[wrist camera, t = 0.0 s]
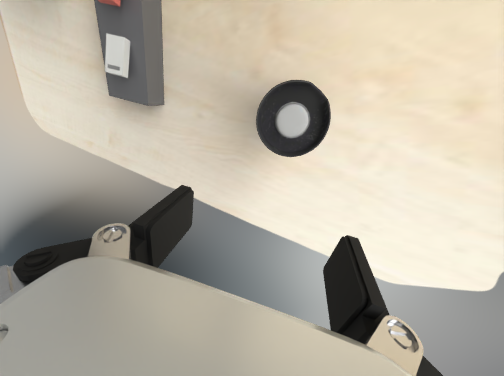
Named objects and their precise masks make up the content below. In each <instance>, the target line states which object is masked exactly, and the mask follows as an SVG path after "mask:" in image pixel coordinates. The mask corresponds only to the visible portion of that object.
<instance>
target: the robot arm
mask: <svg viewBox="0 0 504 376" xmlns="http://www.w3.org/2000/svg"><path fill="white" fill-rule="evenodd" d="M193 197H194V191H193V190H192V189H191V187H188V186H184V185H181V186H180V187H178V188H177V189H176V190H174V191H173V192H172V193H171V194H169V195H168V196H167V197H165V198H164V199H163V200H161V201H160V202H159V203H157V204H156V205H155V206H153V207H152V208H151V209H149V210H148V211H147V212H146V213H144V214H143V215H142V216H140V217H139V218H138V219H136V220H135V221H134V222H132V223H131V224H130V225H129V226H127V225H125V224H120V223H116V224H110V225H107V226H104V227H102V228H100V229H99V230H97V231H96V232H95V234H94V235H93V238H89V239H84V240H80V241H74V242H70V243H64V244H59V245H54V246H49V247H44V248H41V249H37V250H34V251H32V252H30V253H28V254H26V255H24V256H22V257H21V258H20V259H19V260H18V261H17V262H16V263H15V264H14V265H13V266H11V267H8V266H7V265H4V266H2V267H0V376H443V375H442V374H441V373H440V372H439V371H438V370H437V369H436V368H435V367H434V366H432V364H431V363H430V362H429V361H428V360H427V359H426V358H425V357H424V356H423V346H422V343H421V341H420V339H419V337H418V336H417V335H416V333H415V332H414V330H412V328H411V327H410V326H408V325H407V324H406V323H405V322H404V321H402V320H401V319H399V318H397V317H395V316H391V315H389V313H388V310H387V308H386V305H385V303H384V300H383V298H382V295H381V293H380V291H379V288H378V286H377V283H376V281H375V278H374V276H373V273H372V271H371V269H370V266H369V264H368V261H367V259H366V256H365V254H364V251H363V249H362V247H361V244H360V242H359V239H358V238H355V237H352V236H348V235H347V236H345V237H342V238H341V239H340V241H339V243H338V244H337V246H336V248H335V249H334V251H333V253H332V254H331V256H330V258H329V259H328V261H327V263H326V265H325V266H324V270H323V274H324V281H325V289H326V296H327V304H328V311H329V319H330V326H331V330H328V329H326V328H323V327H320V326H317V325H315V324H312V323H309V322H307V321H304V320H302V319H299V318H296V317H293V316H291V315H287V314H285V313H282V312H280V311H277V310H274V309H272V308H269V307H266V306H263V305H261V304H258V303H255V302H252V301H249V300H247V299H244V298H241V297H238V296H235V295H233V294H230V293H227V292H225V291H222V290H219V289H216V288H213V287H210V286H208V285H205V284H202V283H199V282H196V281H194V280H191V279H188V278H185V277H182V276H180V275H177V274H174V273H171V272H168V271H165V270H162V269H159V268H158V267H159V265H160V264H161V263H162V262H163V261H164V259H165V258H166V257H167V256H168V254H169V253H170V252H171V251H172V249H173V248H174V247H175V246H176V245H177V243H178V242H179V241H180V240H181V238H182V237H183V236H184V235H185V234H186V232H187V231H188V230H189V228H190V227H191V225H192V213H193Z"/></svg>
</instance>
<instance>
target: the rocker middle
mask: <svg viewBox="0 0 504 376" xmlns="http://www.w3.org/2000/svg"><path fill="white" fill-rule="evenodd" d="M98 1H99V2H100V3H105V4H110V5H115V6H120V0H98Z"/></svg>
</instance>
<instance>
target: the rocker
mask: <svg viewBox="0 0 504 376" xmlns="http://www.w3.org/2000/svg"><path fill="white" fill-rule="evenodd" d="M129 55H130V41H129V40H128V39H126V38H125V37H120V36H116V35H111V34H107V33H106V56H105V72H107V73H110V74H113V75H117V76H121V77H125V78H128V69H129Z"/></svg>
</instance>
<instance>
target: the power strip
mask: <svg viewBox="0 0 504 376" xmlns="http://www.w3.org/2000/svg"><path fill="white" fill-rule="evenodd" d="M94 1H95V8H96V14H97V20H98V27H99V33H100V39H101V46H102V52H103V58H104V65H105V56H106V33H107V34H111V35H116V36H120V37H125V38H126V39H128V40H129V41H130V55H129V69H128V78H125V77H121V76H117V75H113V74H110V73H107V72H106V77H107V84H108V90H109V96H113V97H117V98H120V99H124V100H128V101H132V102H136V103H140V104H143V105H147V106H152V105H164V83H163V47H162V11H161V0H120V6H115V5H110V4H105V3H100V2H99V1H98V0H94Z"/></svg>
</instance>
